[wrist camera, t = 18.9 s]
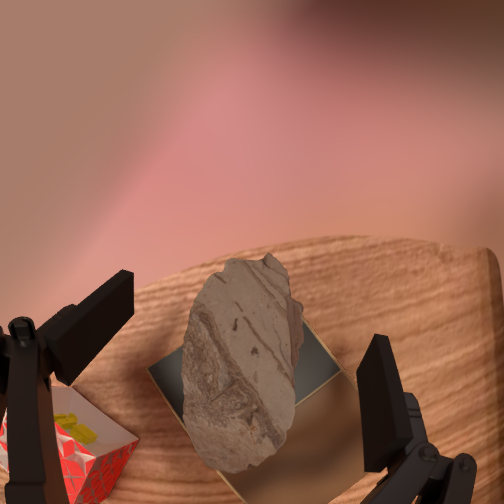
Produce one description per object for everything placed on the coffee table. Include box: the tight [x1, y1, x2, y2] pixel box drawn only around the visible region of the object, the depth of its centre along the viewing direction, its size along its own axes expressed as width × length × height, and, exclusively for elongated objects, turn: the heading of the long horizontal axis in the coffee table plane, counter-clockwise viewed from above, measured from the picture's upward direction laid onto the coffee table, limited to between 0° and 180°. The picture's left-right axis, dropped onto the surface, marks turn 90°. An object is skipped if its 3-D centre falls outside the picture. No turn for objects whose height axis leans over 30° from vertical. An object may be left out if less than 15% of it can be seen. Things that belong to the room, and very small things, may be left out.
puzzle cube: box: [0, 386, 139, 504], centre depth 17 cm, size 8×8×8 cm
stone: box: [181, 253, 304, 474], centre depth 20 cm, size 15×9×10 cm
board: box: [145, 315, 369, 504], centre depth 21 cm, size 18×13×1 cm
